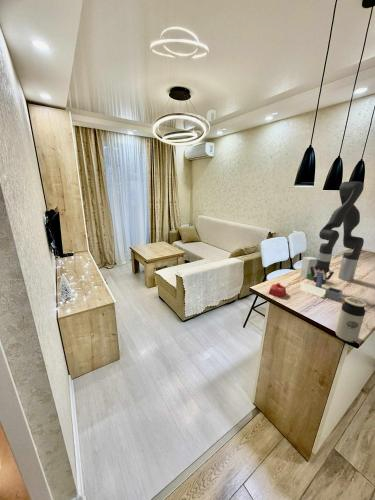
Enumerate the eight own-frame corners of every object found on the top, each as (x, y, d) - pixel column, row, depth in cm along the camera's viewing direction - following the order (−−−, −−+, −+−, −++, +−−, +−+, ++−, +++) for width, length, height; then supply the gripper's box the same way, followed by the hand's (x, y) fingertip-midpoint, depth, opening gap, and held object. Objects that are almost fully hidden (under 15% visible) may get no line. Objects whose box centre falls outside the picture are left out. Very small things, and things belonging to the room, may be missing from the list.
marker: (316, 285, 145) (319, 268, 142) (322, 287, 143) (325, 270, 139) (314, 287, 143) (317, 270, 140) (320, 289, 140) (323, 271, 137)
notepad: (301, 283, 149) (301, 282, 149) (330, 292, 136) (331, 291, 136) (293, 289, 140) (293, 287, 140) (323, 299, 127) (323, 297, 127)
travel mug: (336, 328, 100) (344, 294, 95) (357, 336, 95) (367, 300, 90) (334, 337, 94) (343, 301, 89) (356, 345, 89) (367, 308, 84)
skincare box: (305, 279, 156) (309, 259, 151) (299, 276, 162) (302, 257, 158) (314, 278, 158) (318, 258, 154) (307, 275, 164) (311, 256, 160)
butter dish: (284, 302, 124) (286, 289, 121) (264, 296, 130) (266, 284, 128) (288, 294, 132) (290, 282, 130) (269, 289, 139) (271, 278, 137)
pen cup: (328, 293, 134) (329, 286, 133) (340, 298, 129) (342, 290, 128) (324, 297, 130) (325, 290, 128) (337, 301, 125) (339, 294, 123)
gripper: (338, 261, 135) (332, 285, 139) (314, 255, 145) (309, 278, 150) (334, 263, 130) (329, 288, 134) (310, 257, 140) (305, 281, 145)
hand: (319, 283), depth 142 cm, fingers open, 4 cm apart
